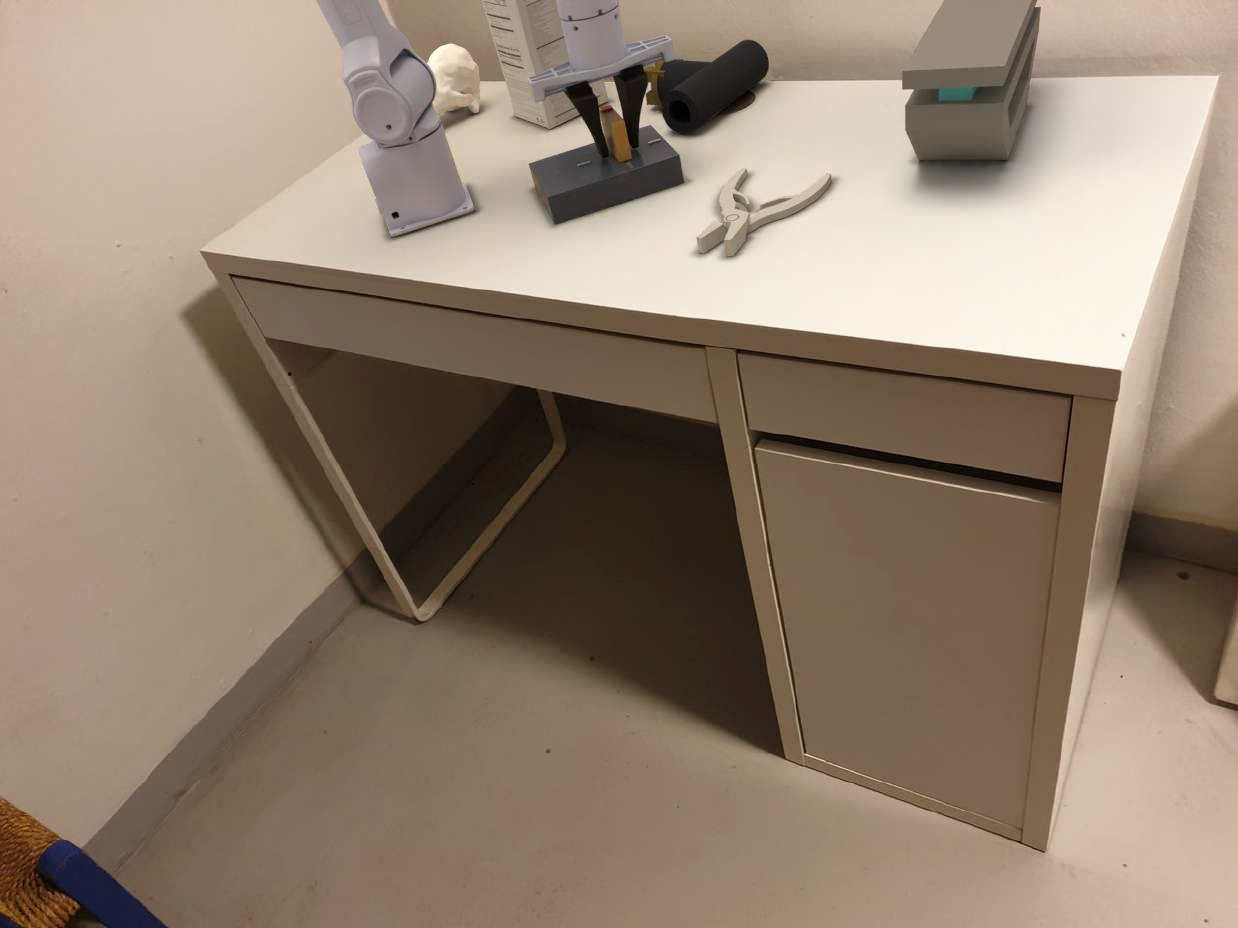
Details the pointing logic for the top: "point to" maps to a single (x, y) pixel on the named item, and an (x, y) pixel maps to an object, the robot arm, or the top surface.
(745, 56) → the pipe connector
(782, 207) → the pliers
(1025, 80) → the grey slotted box
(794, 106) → the top surface
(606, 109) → the tan upright tile
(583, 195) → the dark slotted flat block
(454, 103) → the white lumpy rounded piece
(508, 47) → the supplement box
